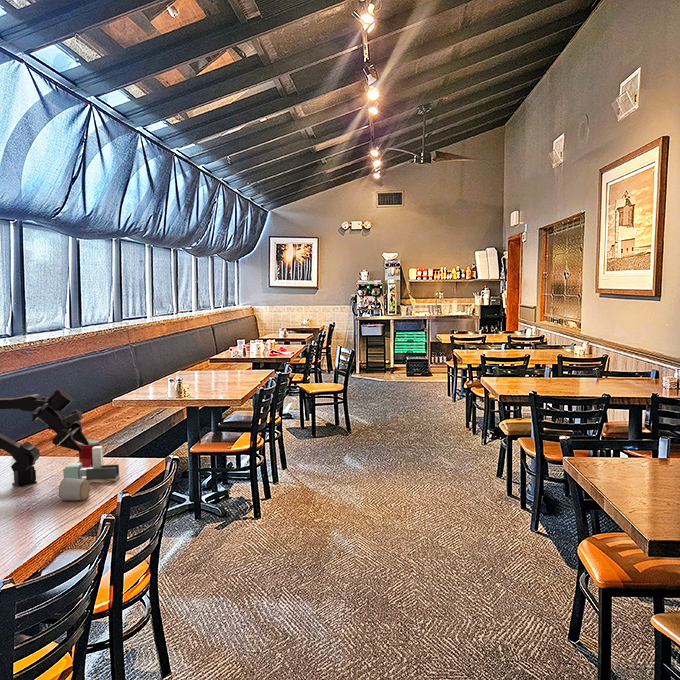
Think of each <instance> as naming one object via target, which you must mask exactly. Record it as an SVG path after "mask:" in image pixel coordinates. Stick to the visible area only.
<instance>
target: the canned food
mask: <svg viewBox="0 0 680 680" xmlns="http://www.w3.org/2000/svg"><path fill="white" fill-rule="evenodd" d="M87 441H88V442H89V444H88V445H84V444H82V443H80V442H78V445H79V446H80V447H81V449H82V450H81V451H80V452H79V451H78V463H82V468H89V466H93V458H92V448H93V447H94V446H100V441H99V439H98V440H97V439H87Z"/></svg>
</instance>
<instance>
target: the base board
mask: <svg viewBox="0 0 680 680" xmlns="http://www.w3.org/2000/svg"><path fill="white" fill-rule="evenodd" d="M119 476H120V474H119ZM119 476H118V477H117V478H116V479H99V480H87V481H88V482H100V483H108V482H107V481H116V480H117V479H118V480H119V478H120V477H119ZM80 479H85V480H86V476H82V477H81V478H80ZM118 480H117V481H118ZM117 481H116V482H117Z"/></svg>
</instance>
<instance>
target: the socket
mask: <svg viewBox="0 0 680 680" xmlns="http://www.w3.org/2000/svg"><path fill="white" fill-rule="evenodd" d="M78 468H82V463H79V462H70V463H68V464H67V465H66V466H65V467H64V468H63V473H62V474H63V479H64V478H76V479H80V478H81V477H78Z"/></svg>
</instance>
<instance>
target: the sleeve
mask: <svg viewBox="0 0 680 680" xmlns="http://www.w3.org/2000/svg"><path fill="white" fill-rule="evenodd" d="M89 467H93V466H89ZM119 475H120V464H103V468H94V469H86V480H99V479H116V478H117V477H118V476H119Z"/></svg>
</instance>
